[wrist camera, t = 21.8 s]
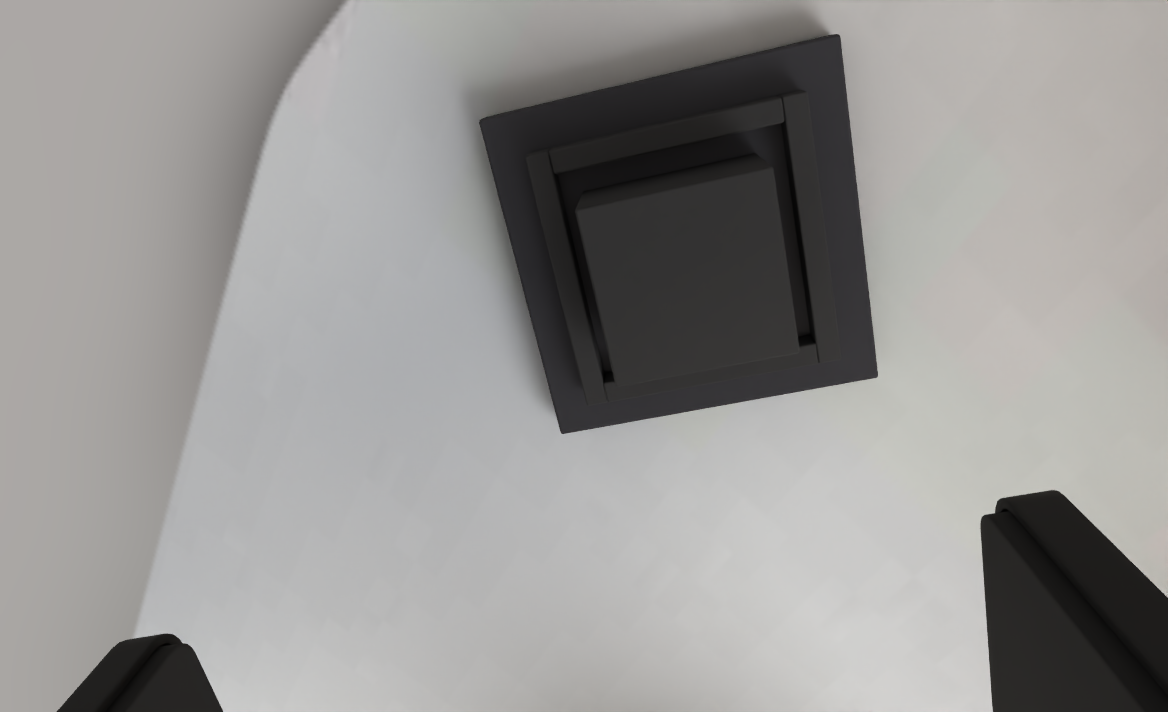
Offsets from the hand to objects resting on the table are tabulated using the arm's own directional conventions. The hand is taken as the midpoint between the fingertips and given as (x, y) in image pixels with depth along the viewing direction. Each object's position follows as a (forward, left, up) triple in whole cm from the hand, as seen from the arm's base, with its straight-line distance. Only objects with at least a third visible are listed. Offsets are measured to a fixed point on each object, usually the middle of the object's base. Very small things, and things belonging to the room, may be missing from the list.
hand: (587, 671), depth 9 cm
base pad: (+2, 0, -22) cm, 22 cm away
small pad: (+2, 0, -20) cm, 20 cm away
